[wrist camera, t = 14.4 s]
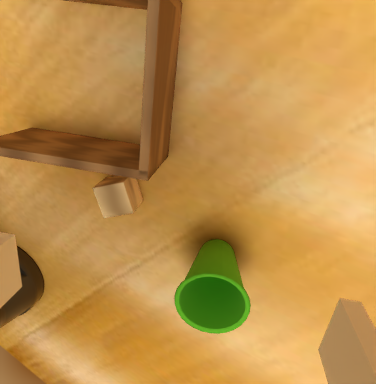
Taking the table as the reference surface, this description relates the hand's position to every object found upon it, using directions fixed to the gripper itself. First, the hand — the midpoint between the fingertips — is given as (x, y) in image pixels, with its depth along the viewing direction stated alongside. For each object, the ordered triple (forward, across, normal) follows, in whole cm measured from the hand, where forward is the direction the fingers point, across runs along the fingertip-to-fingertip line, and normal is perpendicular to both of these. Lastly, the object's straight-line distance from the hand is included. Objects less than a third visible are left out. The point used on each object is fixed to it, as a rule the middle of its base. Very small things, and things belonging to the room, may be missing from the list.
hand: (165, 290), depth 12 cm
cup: (+29, +3, -17) cm, 34 cm away
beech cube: (+29, -12, -9) cm, 32 cm away
